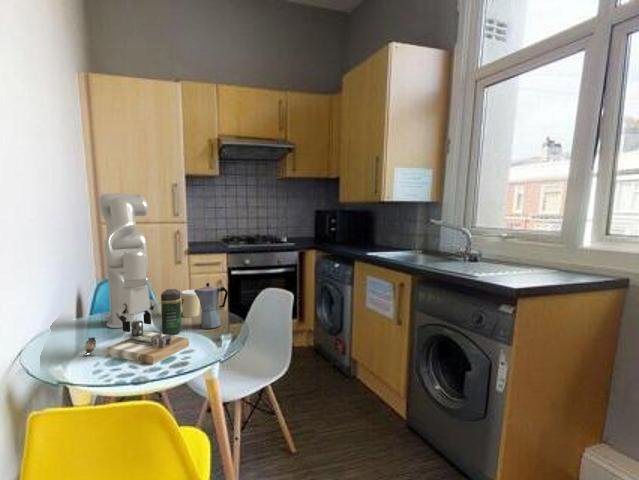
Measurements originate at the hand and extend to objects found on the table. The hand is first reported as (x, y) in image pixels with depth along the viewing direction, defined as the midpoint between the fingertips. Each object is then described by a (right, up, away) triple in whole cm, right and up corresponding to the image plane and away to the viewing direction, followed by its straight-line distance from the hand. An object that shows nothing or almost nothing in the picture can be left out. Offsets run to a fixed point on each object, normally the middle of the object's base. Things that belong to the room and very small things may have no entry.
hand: (137, 327), depth 139 cm
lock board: (+5, -8, -1) cm, 10 cm away
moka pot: (+20, -6, +27) cm, 35 cm away
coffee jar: (+5, -7, +19) cm, 21 cm away
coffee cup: (+5, -5, +44) cm, 44 cm away
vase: (-15, -9, -4) cm, 18 cm away
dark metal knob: (+3, -5, 0) cm, 6 cm away
